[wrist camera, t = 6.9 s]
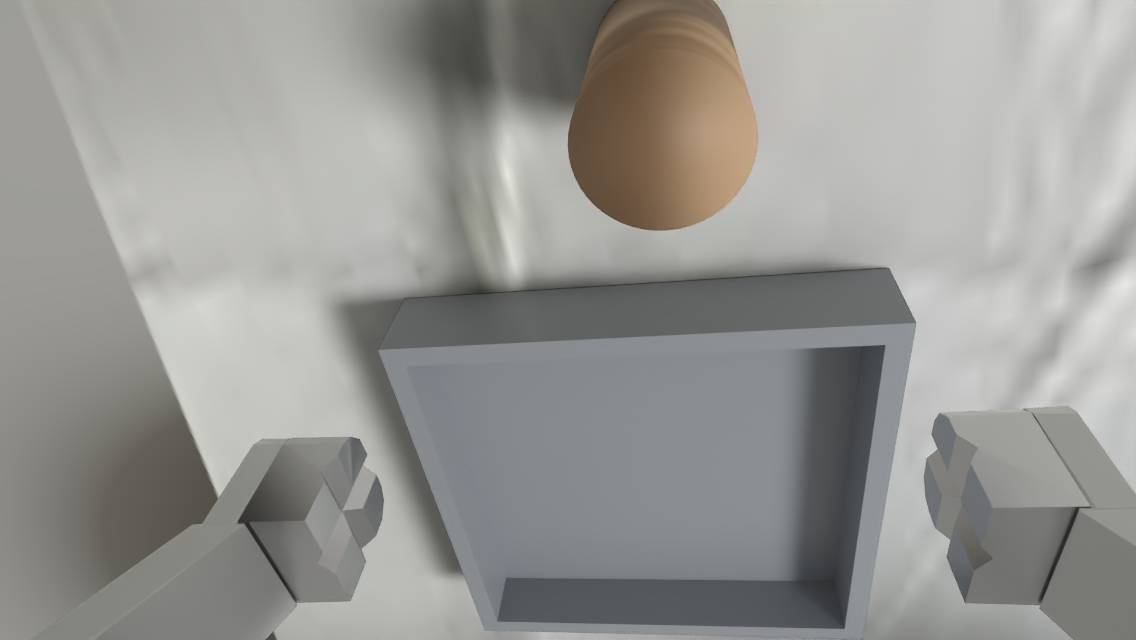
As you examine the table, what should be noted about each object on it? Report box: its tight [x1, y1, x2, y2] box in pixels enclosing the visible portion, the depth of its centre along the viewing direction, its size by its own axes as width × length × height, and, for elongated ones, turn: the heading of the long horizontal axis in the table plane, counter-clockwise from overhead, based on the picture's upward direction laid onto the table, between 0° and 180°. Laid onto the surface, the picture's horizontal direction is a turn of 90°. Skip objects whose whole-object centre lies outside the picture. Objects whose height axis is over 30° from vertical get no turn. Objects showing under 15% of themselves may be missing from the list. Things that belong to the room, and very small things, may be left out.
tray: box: [378, 268, 916, 639], centre depth 36 cm, size 22×22×4 cm
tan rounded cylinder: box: [568, 0, 758, 230], centre depth 22 cm, size 5×5×9 cm
